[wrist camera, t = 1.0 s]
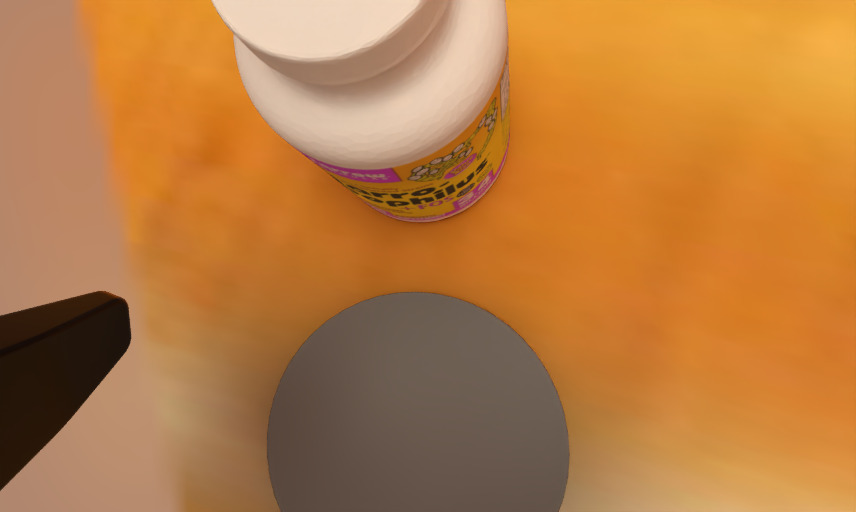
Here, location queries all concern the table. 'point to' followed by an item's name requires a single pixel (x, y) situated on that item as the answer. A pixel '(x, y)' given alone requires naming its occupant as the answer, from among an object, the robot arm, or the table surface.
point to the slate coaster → (417, 414)
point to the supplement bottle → (384, 93)
